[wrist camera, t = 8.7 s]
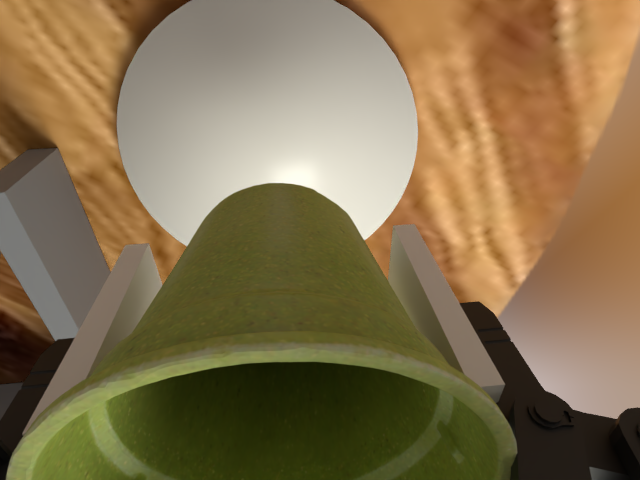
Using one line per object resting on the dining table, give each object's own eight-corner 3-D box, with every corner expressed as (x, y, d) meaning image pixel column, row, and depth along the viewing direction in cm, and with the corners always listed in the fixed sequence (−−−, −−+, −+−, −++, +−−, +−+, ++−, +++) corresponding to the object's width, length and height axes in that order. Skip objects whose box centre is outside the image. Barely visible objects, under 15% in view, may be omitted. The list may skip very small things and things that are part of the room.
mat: (70, -12, 17) (64, -12, 16) (433, -23, 18) (438, -23, 17) (163, 274, 26) (161, 280, 25) (400, 256, 27) (402, 261, 27)
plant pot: (196, 356, 17) (142, 619, 10) (97, 160, 12) (-157, 423, 5) (403, 318, 17) (492, 558, 10) (393, 106, 12) (566, 294, 5)
